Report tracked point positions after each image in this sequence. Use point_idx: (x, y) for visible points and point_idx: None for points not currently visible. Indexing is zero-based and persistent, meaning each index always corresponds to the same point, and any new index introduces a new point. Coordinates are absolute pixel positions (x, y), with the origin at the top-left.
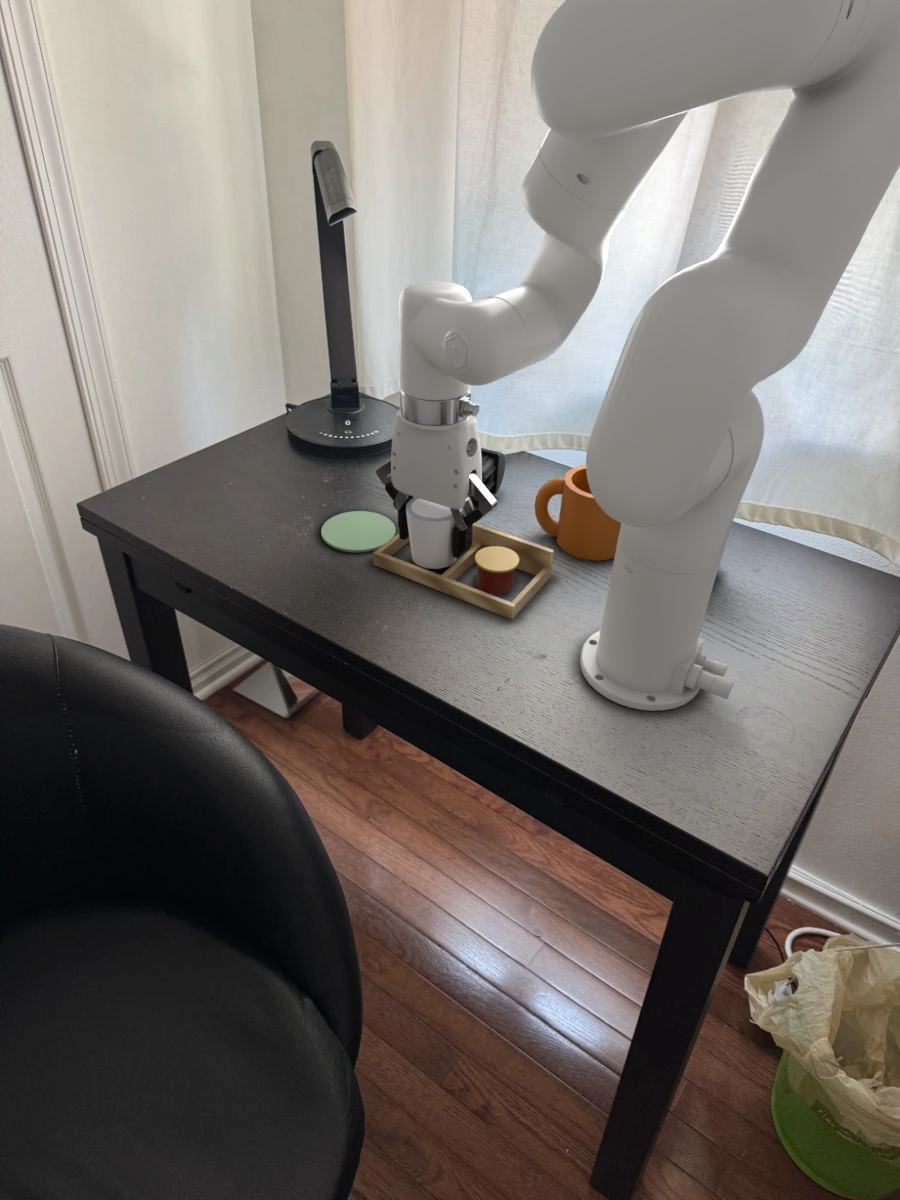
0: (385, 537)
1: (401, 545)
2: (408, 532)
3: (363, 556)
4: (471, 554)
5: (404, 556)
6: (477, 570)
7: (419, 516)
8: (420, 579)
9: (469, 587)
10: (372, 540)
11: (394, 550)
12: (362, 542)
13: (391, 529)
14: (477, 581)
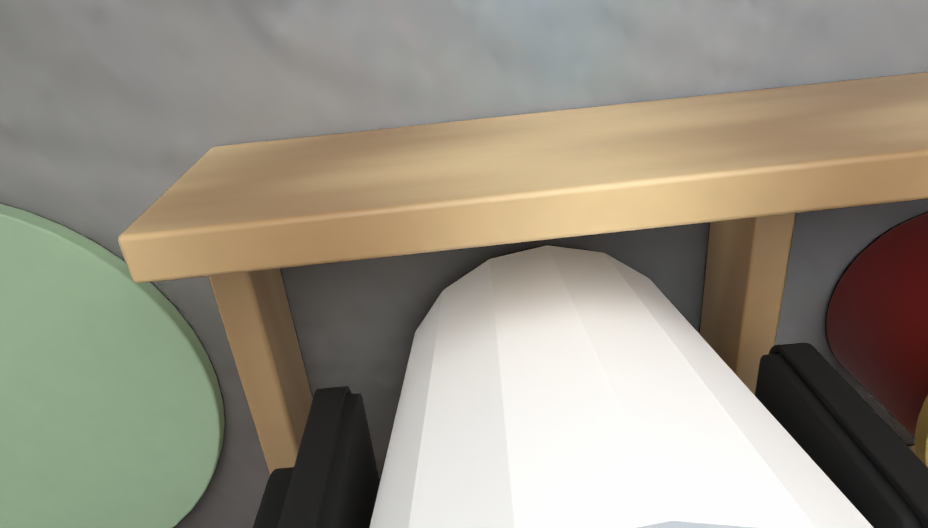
0: (166, 376)
1: (300, 374)
2: (374, 505)
3: (223, 514)
4: (781, 295)
5: (376, 403)
6: (883, 402)
7: None
8: None
9: None
10: (142, 435)
11: None
12: (124, 478)
13: (108, 294)
14: (857, 380)
